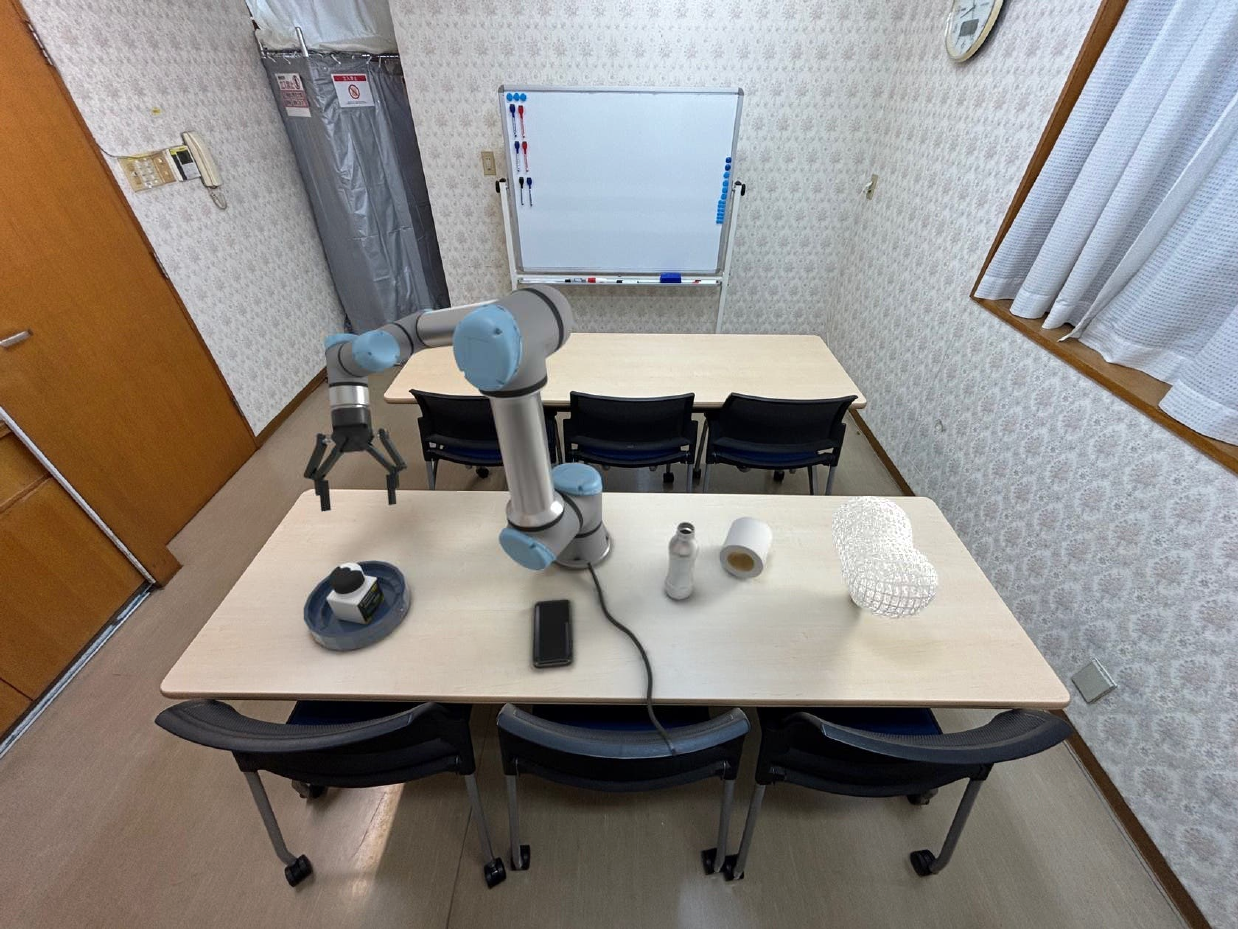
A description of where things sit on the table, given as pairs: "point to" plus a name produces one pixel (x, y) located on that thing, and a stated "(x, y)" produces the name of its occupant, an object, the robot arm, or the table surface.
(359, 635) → the bowl
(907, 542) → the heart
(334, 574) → the medicine bottle
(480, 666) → the table surface
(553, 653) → the phone
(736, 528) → the toilet paper
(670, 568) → the plastic bottle
